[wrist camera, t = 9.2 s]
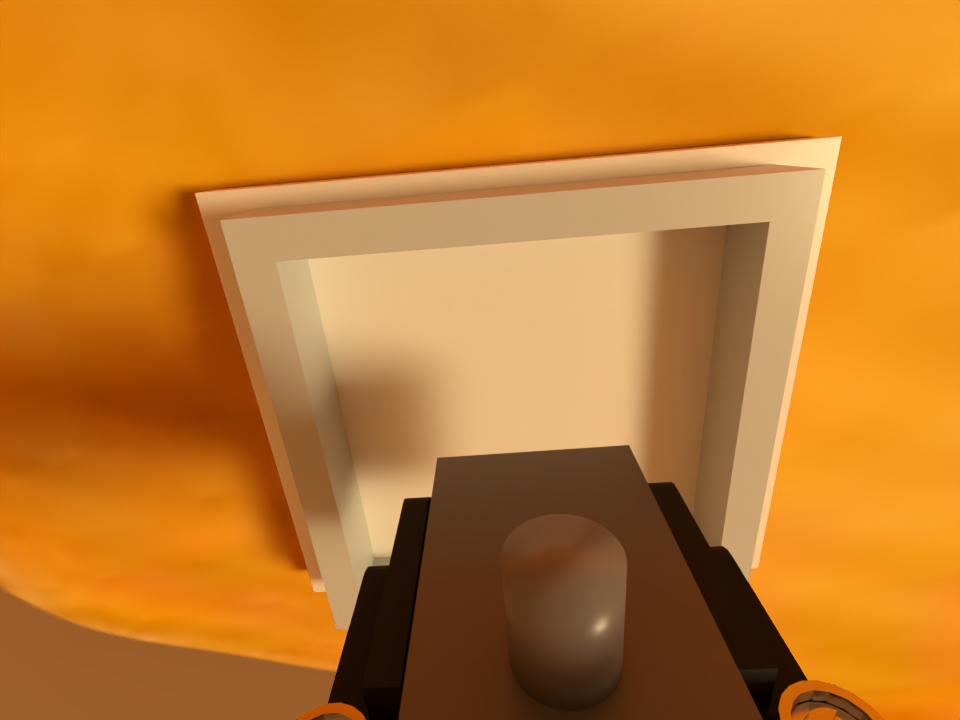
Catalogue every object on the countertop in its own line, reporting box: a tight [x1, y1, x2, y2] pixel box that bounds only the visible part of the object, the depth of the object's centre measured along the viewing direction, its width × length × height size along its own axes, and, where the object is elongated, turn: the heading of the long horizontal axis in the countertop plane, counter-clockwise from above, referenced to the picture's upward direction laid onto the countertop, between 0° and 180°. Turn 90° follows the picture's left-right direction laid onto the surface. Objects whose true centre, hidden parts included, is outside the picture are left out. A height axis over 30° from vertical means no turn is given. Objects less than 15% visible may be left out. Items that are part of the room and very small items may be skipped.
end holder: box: [195, 137, 842, 630], centre depth 15 cm, size 14×16×3 cm
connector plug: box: [398, 445, 763, 720], centre depth 8 cm, size 6×4×6 cm
